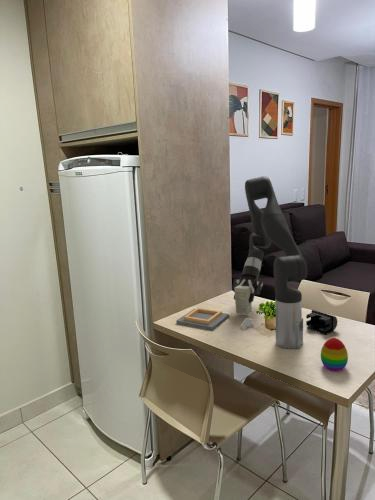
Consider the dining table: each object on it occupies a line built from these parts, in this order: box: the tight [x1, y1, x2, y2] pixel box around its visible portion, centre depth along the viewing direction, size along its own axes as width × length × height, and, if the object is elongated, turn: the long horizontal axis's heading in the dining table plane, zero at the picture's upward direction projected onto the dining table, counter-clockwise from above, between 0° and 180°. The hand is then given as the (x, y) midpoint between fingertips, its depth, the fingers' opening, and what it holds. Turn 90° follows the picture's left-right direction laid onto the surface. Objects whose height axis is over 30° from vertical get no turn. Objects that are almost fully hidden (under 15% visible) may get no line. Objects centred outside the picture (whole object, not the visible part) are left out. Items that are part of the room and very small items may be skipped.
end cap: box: [305, 309, 338, 336], centre depth 151 cm, size 10×7×7 cm
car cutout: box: [240, 317, 255, 331], centre depth 155 cm, size 15×7×4 cm, turn 123°
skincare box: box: [234, 284, 253, 316], centre depth 168 cm, size 6×4×12 cm
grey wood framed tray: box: [175, 307, 230, 331], centre depth 167 cm, size 18×16×3 cm
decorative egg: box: [320, 337, 349, 372], centre depth 121 cm, size 8×8×10 cm
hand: (242, 301), depth 168 cm, fingers closed on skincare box, 6 cm apart
